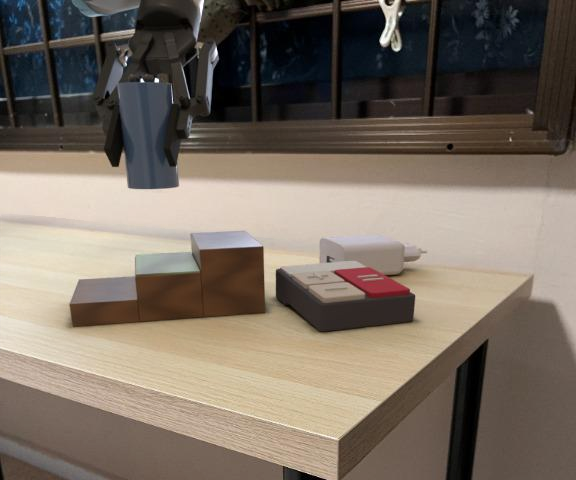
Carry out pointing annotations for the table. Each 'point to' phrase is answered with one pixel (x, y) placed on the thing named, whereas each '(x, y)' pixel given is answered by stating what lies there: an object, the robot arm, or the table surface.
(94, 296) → the step shelf
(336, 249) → the charger
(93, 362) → the table surface
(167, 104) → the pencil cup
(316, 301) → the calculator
